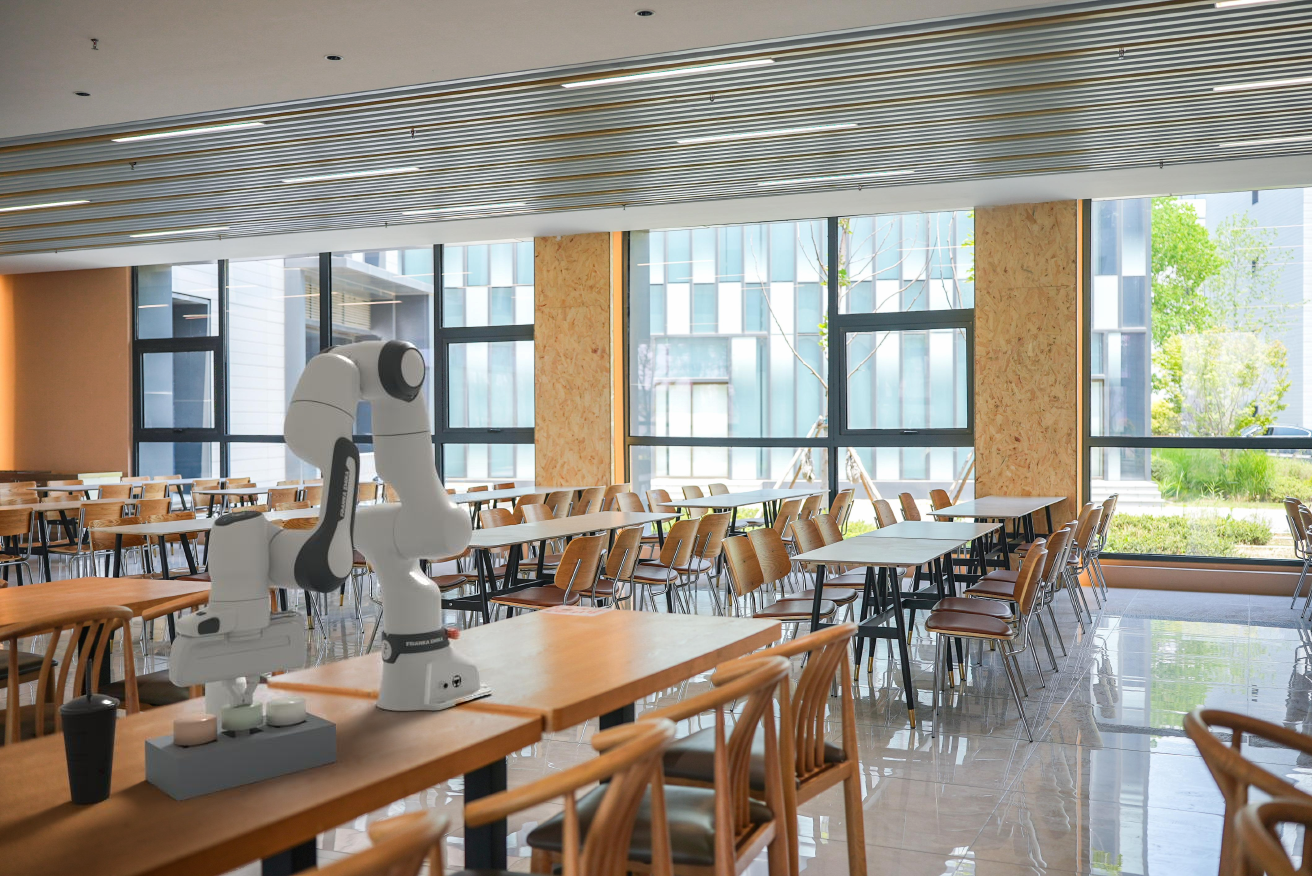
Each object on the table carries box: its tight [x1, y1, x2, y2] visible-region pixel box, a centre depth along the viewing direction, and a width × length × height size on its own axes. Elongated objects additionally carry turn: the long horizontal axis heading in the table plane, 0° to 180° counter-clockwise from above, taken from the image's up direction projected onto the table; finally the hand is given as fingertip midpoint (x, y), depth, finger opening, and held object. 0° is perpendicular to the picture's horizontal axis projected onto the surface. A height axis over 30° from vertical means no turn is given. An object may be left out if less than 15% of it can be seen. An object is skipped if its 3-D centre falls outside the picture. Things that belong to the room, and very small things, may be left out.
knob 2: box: [265, 696, 307, 728], centre depth 161 cm, size 6×6×8 cm
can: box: [204, 677, 247, 725], centre depth 171 cm, size 6×6×12 cm
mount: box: [144, 711, 338, 802], centre depth 156 cm, size 24×14×6 cm, turn 134°
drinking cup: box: [58, 658, 120, 806], centre depth 144 cm, size 8×8×20 cm
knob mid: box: [221, 700, 264, 737], centre depth 156 cm, size 6×6×8 cm
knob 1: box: [172, 713, 217, 748], centre depth 151 cm, size 6×6×8 cm
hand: (241, 705), depth 156 cm, fingers closed, pressing on knob mid
